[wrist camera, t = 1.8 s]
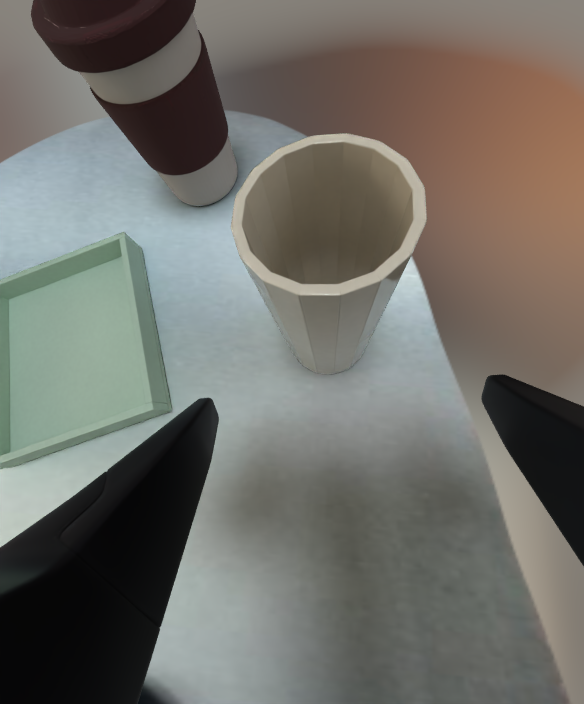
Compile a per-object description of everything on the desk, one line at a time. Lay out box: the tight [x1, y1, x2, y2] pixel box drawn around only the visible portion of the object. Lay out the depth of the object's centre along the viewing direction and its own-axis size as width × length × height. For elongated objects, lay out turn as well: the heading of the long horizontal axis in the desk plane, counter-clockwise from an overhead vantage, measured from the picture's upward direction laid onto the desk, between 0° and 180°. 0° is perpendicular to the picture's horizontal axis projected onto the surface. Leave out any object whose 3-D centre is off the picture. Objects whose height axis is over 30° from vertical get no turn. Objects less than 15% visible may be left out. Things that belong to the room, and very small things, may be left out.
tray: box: [0, 232, 172, 469], centre depth 24 cm, size 17×15×2 cm
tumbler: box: [231, 133, 427, 374], centre depth 16 cm, size 6×6×14 cm
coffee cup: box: [31, 0, 237, 206], centre depth 21 cm, size 10×10×15 cm
